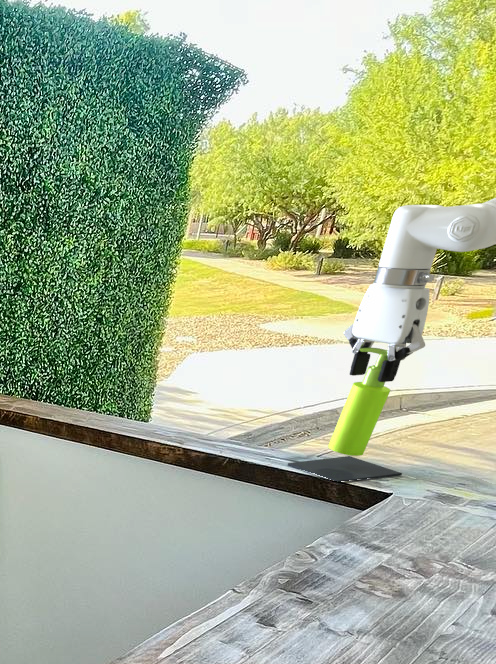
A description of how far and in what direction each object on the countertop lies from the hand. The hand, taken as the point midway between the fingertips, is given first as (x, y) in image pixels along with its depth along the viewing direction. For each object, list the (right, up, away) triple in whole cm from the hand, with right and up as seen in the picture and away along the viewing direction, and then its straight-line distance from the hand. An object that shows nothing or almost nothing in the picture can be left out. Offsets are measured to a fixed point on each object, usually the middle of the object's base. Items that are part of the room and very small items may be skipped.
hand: (371, 377), depth 145 cm
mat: (0, -17, +7) cm, 19 cm away
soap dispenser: (-1, -13, +7) cm, 15 cm away
